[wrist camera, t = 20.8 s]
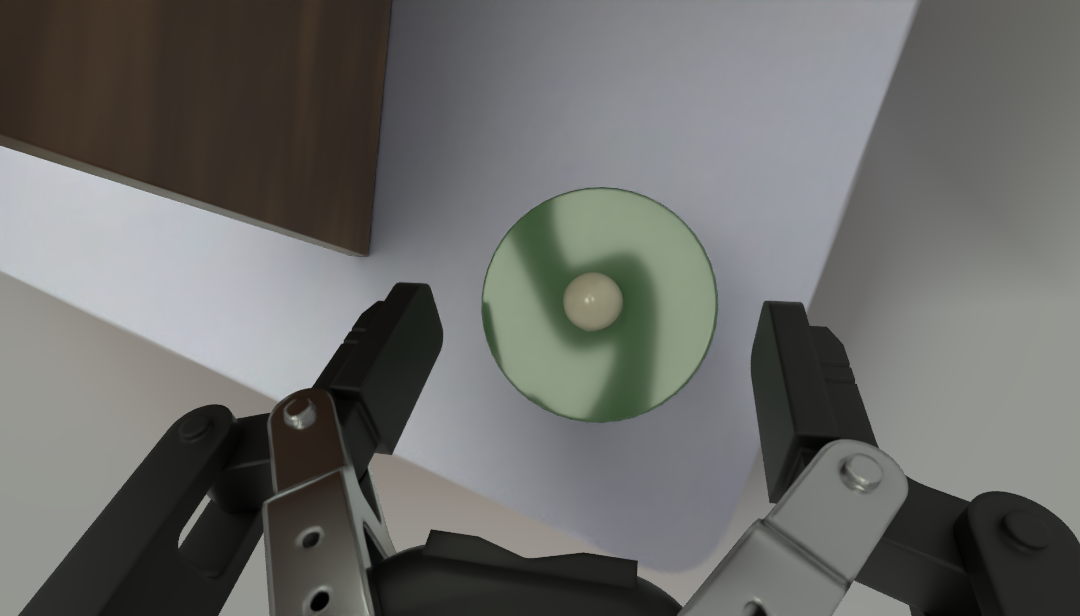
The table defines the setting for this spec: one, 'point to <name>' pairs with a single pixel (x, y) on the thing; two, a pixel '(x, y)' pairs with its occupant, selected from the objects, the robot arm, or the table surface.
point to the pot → (599, 305)
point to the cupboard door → (208, 103)
